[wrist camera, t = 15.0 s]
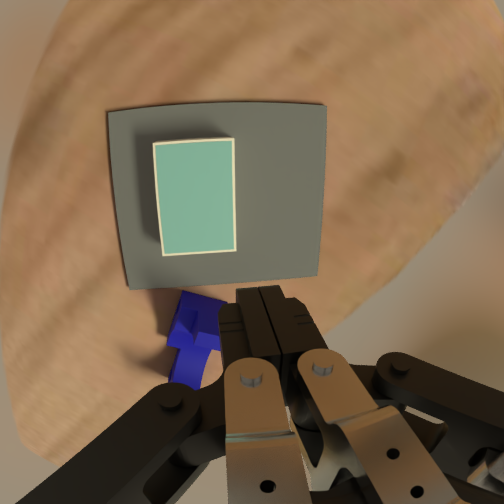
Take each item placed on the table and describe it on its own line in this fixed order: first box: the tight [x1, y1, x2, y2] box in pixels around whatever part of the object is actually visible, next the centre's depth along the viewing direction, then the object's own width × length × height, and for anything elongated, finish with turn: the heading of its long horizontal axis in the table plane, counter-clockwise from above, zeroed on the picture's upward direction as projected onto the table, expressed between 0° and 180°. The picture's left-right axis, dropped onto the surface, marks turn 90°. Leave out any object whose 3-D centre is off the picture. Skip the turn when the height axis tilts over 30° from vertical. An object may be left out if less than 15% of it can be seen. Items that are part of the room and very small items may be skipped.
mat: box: [108, 102, 327, 290], centre depth 26 cm, size 16×18×1 cm
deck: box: [153, 137, 236, 256], centre depth 24 cm, size 9×2×6 cm
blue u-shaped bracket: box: [167, 290, 227, 390], centre depth 29 cm, size 12×4×6 cm, turn 158°
